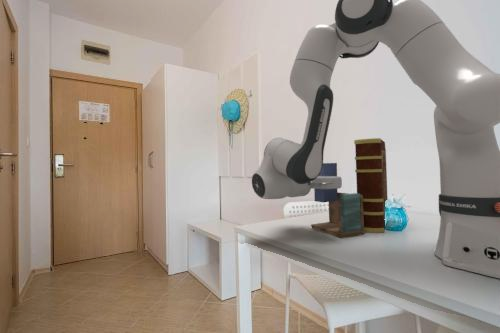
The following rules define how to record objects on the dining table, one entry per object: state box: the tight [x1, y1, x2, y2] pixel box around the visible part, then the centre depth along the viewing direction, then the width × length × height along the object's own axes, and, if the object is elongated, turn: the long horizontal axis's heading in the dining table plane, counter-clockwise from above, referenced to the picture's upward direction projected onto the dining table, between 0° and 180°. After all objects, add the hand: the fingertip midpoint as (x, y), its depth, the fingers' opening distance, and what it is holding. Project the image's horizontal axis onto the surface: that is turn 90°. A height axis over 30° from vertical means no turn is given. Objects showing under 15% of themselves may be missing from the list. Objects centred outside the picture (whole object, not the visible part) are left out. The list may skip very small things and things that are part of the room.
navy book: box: [313, 162, 338, 203], centre depth 90 cm, size 4×7×13 cm, turn 123°
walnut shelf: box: [310, 191, 365, 239], centre depth 87 cm, size 15×9×13 cm, turn 23°
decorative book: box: [353, 137, 388, 234], centre depth 92 cm, size 22×8×30 cm, turn 148°
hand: (327, 180), depth 90 cm, fingers closed on navy book, 4 cm apart
